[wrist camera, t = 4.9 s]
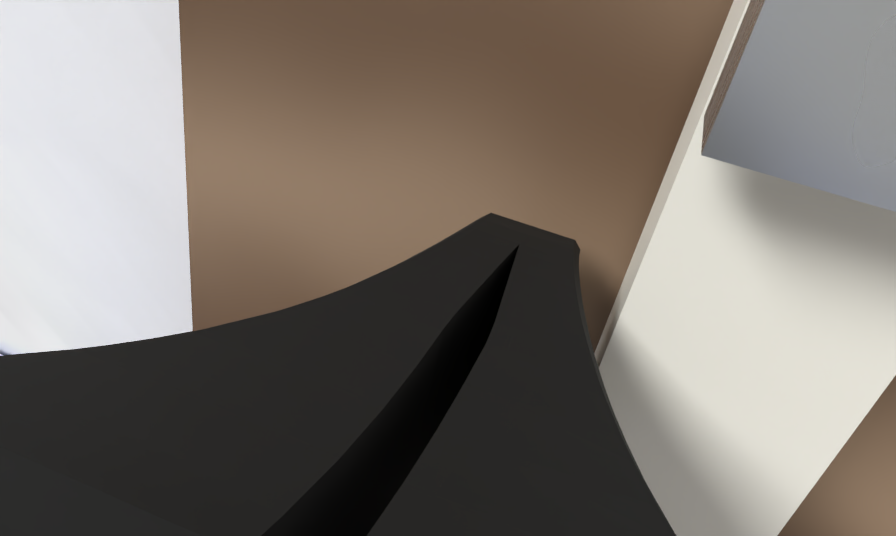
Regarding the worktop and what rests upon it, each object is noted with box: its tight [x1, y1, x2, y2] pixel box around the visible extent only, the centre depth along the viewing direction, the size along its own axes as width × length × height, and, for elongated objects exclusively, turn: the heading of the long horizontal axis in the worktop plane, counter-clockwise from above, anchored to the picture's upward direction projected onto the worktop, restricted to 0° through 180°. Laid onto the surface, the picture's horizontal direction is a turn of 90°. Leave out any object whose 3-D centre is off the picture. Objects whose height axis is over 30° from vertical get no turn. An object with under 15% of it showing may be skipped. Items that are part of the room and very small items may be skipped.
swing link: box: [594, 0, 896, 536], centre depth 8 cm, size 14×4×3 cm, turn 169°
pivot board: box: [179, 0, 896, 536], centre depth 10 cm, size 19×14×1 cm
